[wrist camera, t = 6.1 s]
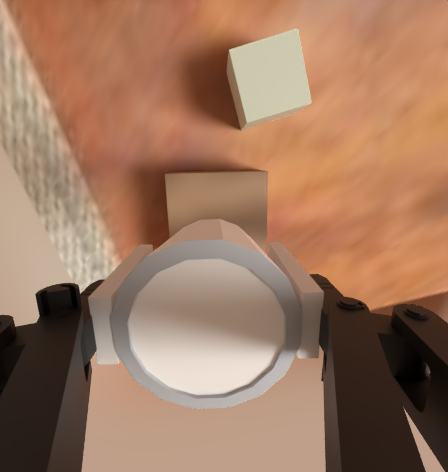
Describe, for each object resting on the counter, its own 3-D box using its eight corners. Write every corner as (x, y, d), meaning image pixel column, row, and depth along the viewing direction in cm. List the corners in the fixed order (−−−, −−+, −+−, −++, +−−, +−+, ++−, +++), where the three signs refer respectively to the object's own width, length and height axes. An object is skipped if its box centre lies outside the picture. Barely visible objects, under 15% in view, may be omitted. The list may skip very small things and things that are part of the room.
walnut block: (172, 172, 31) (164, 173, 27) (259, 170, 32) (267, 171, 27) (178, 255, 34) (172, 270, 29) (259, 252, 34) (266, 267, 29)
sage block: (226, 72, 29) (228, 49, 23) (281, 55, 29) (297, 28, 23) (240, 130, 31) (246, 122, 25) (293, 114, 30) (311, 103, 25)
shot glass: (130, 252, 16) (67, 314, 9) (225, 183, 15) (230, 196, 9) (200, 335, 18) (189, 440, 11) (291, 276, 17) (340, 351, 10)
